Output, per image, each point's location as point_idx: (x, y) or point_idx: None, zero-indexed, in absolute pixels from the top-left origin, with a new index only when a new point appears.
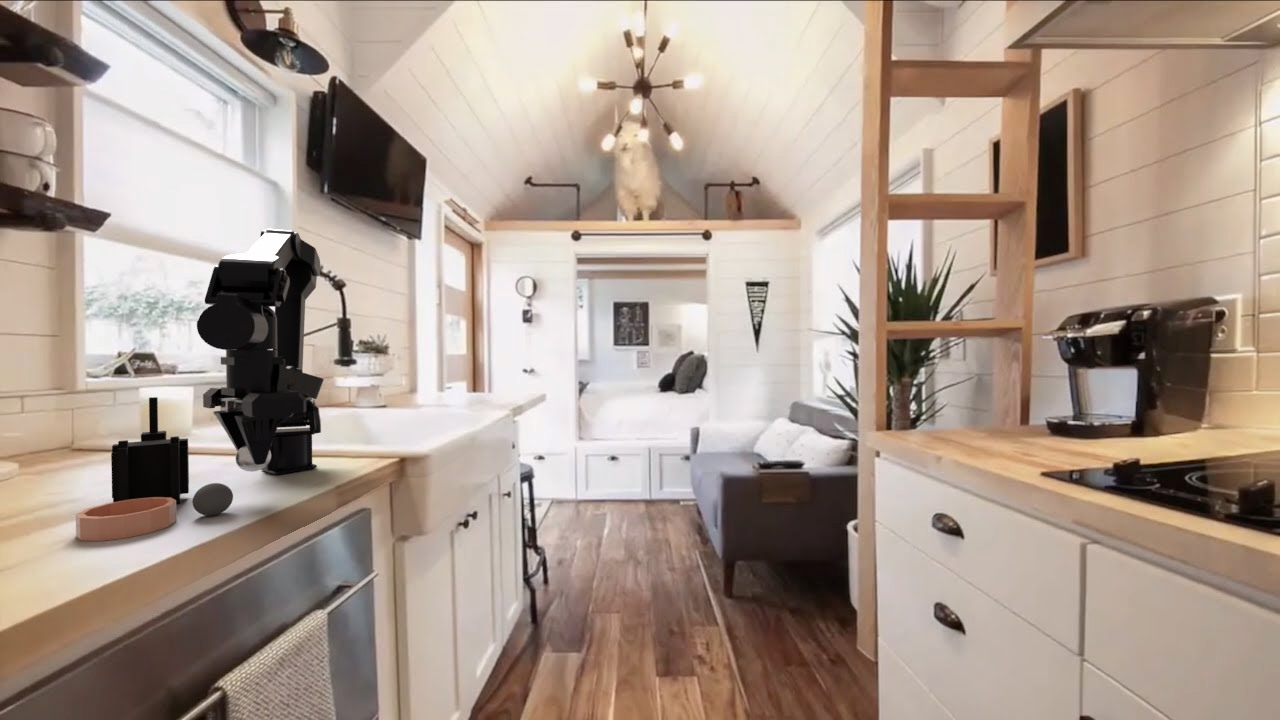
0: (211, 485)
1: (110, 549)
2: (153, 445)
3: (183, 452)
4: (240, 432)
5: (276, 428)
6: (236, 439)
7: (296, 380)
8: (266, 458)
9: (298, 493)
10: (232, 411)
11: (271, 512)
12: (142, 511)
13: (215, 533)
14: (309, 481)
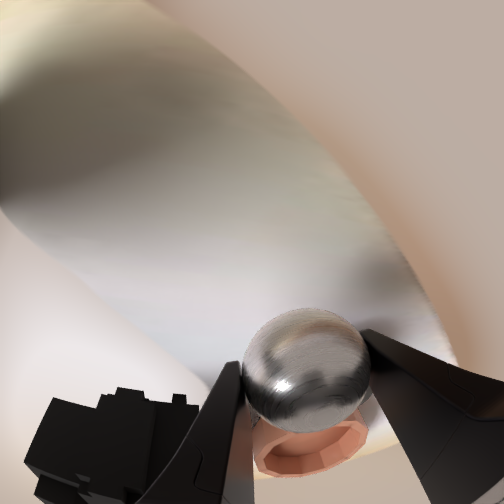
0: (364, 399)
1: (384, 419)
2: None
3: (144, 480)
4: (246, 487)
5: (501, 382)
6: (252, 467)
7: None
8: (381, 334)
9: (270, 174)
10: None
11: (404, 266)
12: (361, 435)
13: (433, 341)
14: (117, 116)
